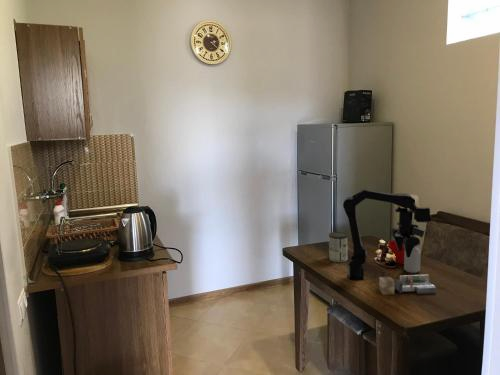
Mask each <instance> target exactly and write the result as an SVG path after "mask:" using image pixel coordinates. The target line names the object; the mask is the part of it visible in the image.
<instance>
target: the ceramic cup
mask: <svg viewBox="0 0 500 375" xmlns="http://www.w3.org/2000/svg"><path fill="white" fill-rule="evenodd" d="M403 243H404V242H403ZM388 247H389V248H390V249H391V250H392V252H393V253H394V254H395V256H396V262H395V263H397V264H403V265H404V252H405V249H404V245H402V250H401V251H399V250H398V248H397V245H396V243H395V241H394V239H393V240H389V241H388V242H387V248H388Z"/></svg>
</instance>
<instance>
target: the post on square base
mask: <svg viewBox="0 0 500 375" xmlns="http://www.w3.org/2000/svg"><path fill="white" fill-rule="evenodd" d="M430 286H435V284H433V283H431V284H425V285H413V280H410V285H403V283H402V282H401V281H400V278H396V279H395V285H394V290H396V291H397V292H398V293H399V294H403V292H405V293H406V292H416V287H430Z"/></svg>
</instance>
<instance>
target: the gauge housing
mask: <svg viewBox="0 0 500 375" xmlns="http://www.w3.org/2000/svg"><path fill="white" fill-rule="evenodd" d="M399 280H400V281H401V282H402V283H403V285H410V280H413V285H425V284H432V283H431V282H430V275H429V274H408V275H406V274H405V275H404V274H403V275H399ZM415 292H416V293H417V295H419V294H420V295H421V294H437V287H436V285H434V286H430V287H416V291H415Z"/></svg>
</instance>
